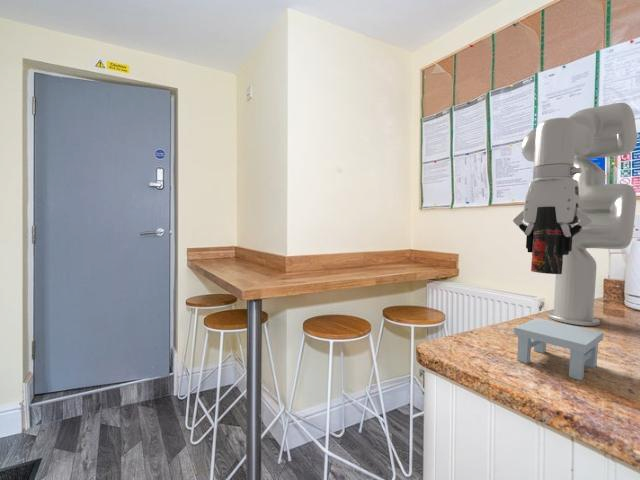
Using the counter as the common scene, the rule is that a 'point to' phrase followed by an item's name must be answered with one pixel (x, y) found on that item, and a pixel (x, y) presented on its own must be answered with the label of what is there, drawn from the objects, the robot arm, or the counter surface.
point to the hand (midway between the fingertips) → (547, 252)
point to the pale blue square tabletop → (559, 343)
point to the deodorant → (547, 242)
